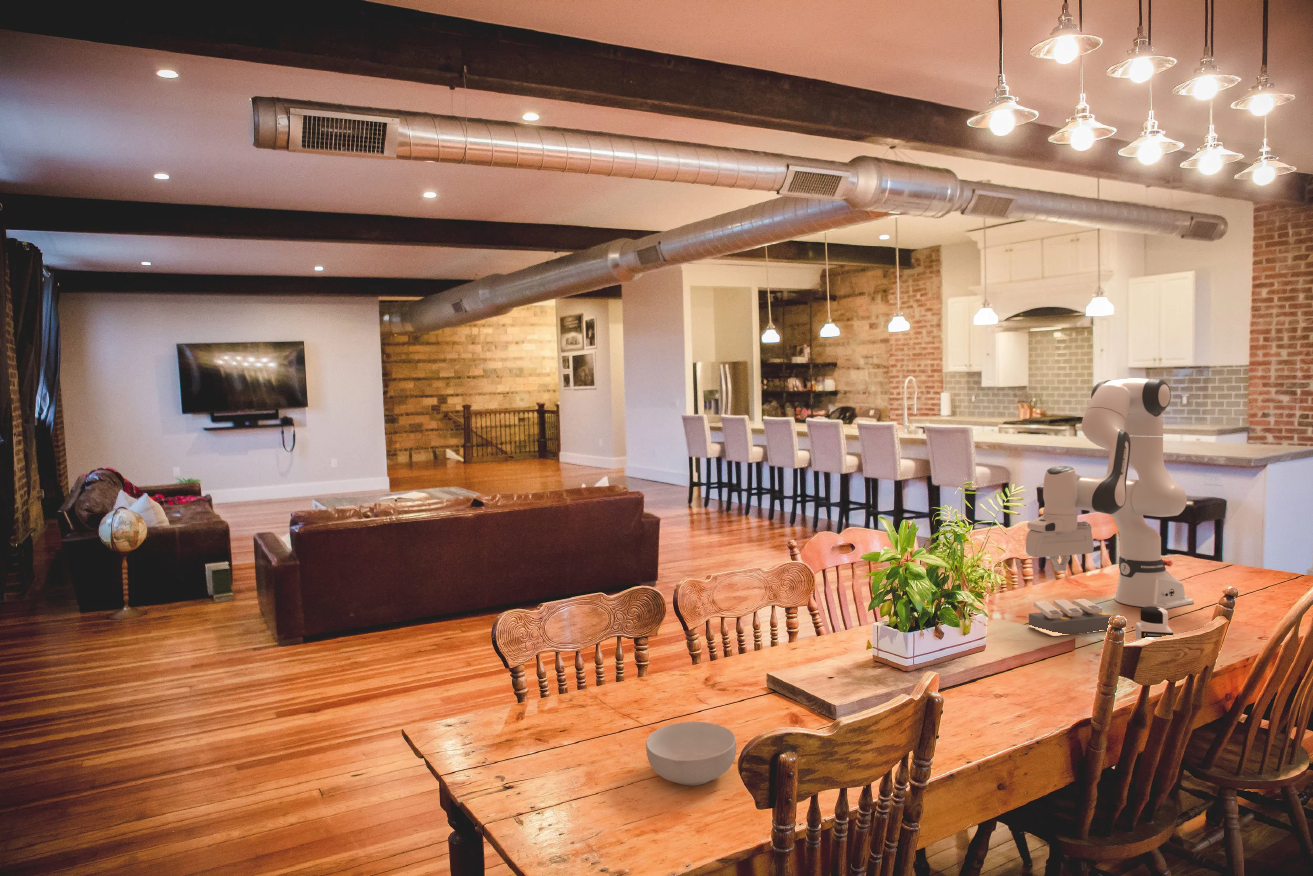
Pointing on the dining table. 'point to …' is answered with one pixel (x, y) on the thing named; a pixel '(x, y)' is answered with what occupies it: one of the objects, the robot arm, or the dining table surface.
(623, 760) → the dining table surface
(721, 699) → the dining table surface
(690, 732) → the cereal bowl
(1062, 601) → the rocker
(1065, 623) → the switch unit
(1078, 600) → the rocker
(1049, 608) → the rocker
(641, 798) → the dining table surface
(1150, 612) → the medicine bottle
